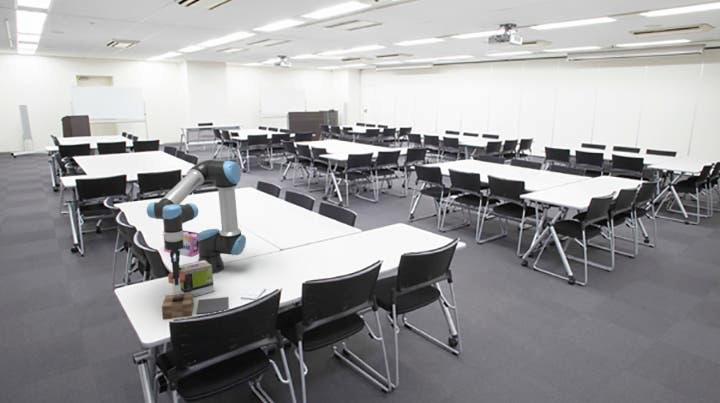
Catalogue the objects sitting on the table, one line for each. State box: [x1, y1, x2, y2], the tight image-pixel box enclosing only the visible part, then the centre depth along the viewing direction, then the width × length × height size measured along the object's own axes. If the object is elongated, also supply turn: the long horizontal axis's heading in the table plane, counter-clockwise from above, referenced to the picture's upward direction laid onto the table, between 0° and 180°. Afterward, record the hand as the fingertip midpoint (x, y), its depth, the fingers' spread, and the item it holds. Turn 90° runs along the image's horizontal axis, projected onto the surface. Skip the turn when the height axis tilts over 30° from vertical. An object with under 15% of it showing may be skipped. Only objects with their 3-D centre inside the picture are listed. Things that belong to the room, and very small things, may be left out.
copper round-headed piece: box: [167, 271, 185, 302], centre depth 194 cm, size 7×7×15 cm
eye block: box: [161, 293, 195, 320], centre depth 195 cm, size 12×12×6 cm
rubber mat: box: [195, 296, 230, 316], centre depth 202 cm, size 14×14×1 cm
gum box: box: [162, 230, 200, 258], centre depth 271 cm, size 24×8×14 cm, turn 68°
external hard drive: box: [240, 286, 267, 301], centre depth 216 cm, size 2×8×12 cm
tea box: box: [179, 260, 215, 298], centre depth 215 cm, size 15×10×15 cm
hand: (177, 287), depth 194 cm, fingers closed on copper round-headed piece, 7 cm apart
